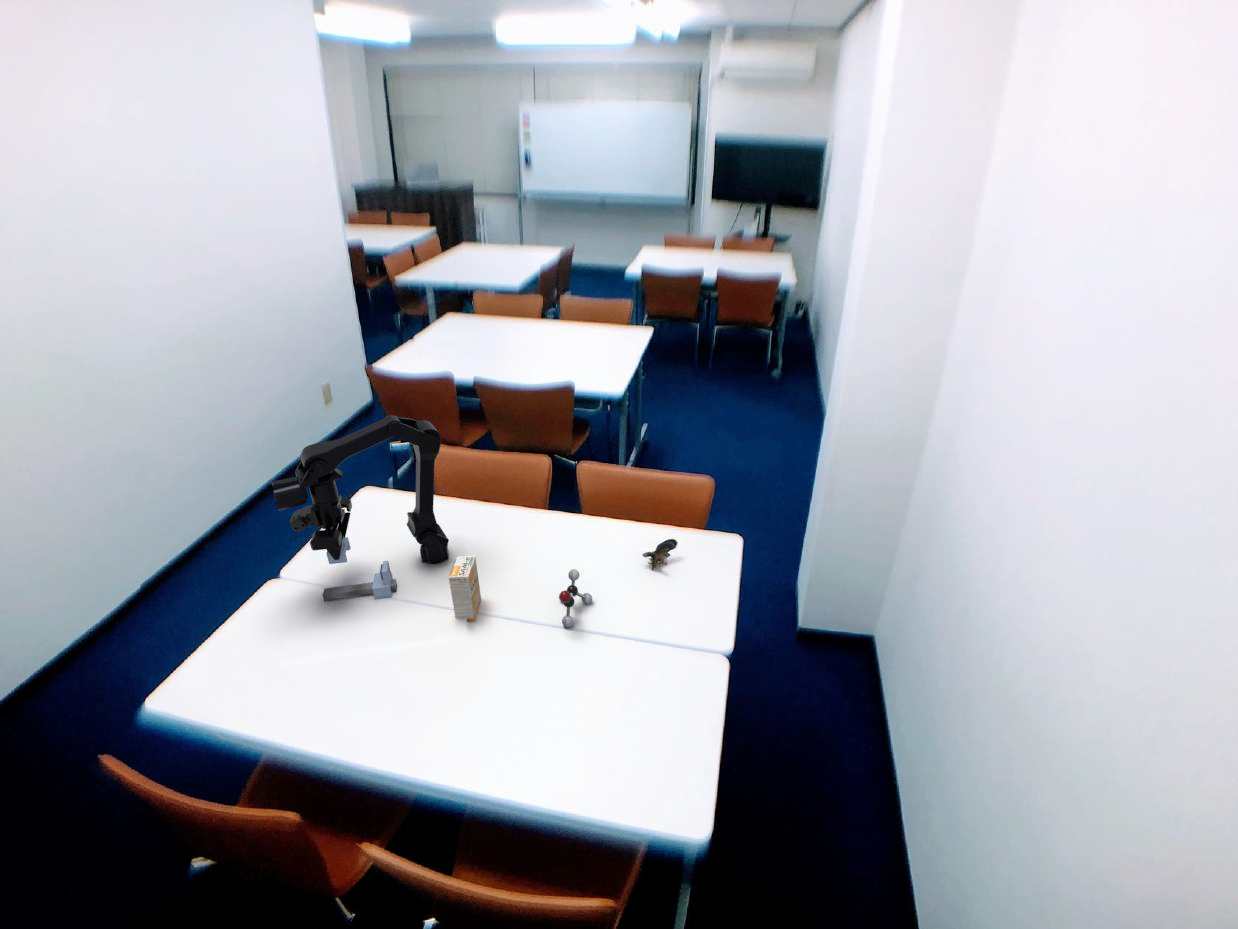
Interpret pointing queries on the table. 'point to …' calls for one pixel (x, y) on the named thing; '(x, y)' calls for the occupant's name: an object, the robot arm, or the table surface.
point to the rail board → (352, 591)
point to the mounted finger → (382, 582)
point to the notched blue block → (342, 555)
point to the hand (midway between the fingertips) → (339, 551)
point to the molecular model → (569, 600)
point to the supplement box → (465, 588)
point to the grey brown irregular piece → (661, 552)
